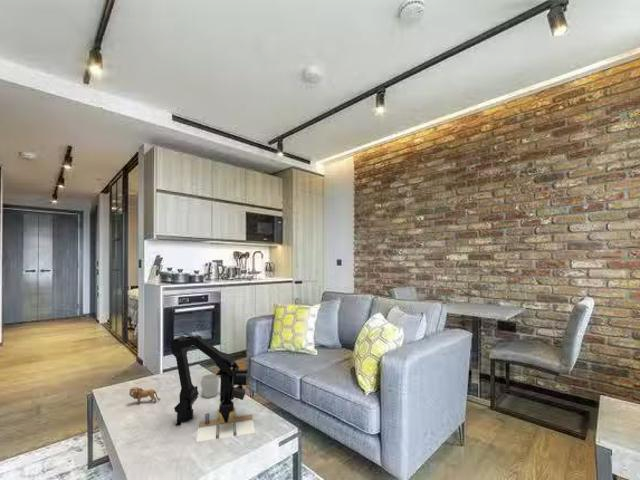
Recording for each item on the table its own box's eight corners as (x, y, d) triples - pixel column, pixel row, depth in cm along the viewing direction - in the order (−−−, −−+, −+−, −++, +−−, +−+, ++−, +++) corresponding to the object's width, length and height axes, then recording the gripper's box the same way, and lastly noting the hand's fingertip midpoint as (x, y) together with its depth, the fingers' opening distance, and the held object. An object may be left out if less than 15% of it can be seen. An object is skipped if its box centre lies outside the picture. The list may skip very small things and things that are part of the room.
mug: (221, 394, 177) (222, 376, 177) (207, 400, 170) (207, 381, 170) (208, 388, 184) (208, 371, 185) (194, 394, 177) (194, 376, 178)
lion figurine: (128, 407, 162) (128, 390, 162) (129, 403, 167) (130, 385, 167) (160, 402, 167) (160, 385, 168) (160, 398, 172) (161, 381, 173)
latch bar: (217, 424, 144) (217, 414, 144) (217, 419, 148) (217, 409, 148) (235, 421, 146) (235, 411, 146) (235, 416, 151) (235, 407, 151)
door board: (196, 444, 130) (196, 432, 131) (199, 424, 146) (199, 412, 146) (254, 435, 137) (255, 423, 137) (252, 416, 153) (252, 405, 153)
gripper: (245, 390, 141) (245, 426, 141) (243, 374, 159) (243, 406, 158) (219, 393, 138) (218, 429, 137) (220, 377, 156) (219, 409, 155)
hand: (226, 418), depth 147 cm, fingers open, 7 cm apart
